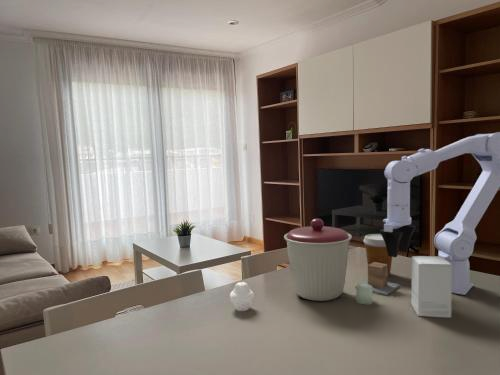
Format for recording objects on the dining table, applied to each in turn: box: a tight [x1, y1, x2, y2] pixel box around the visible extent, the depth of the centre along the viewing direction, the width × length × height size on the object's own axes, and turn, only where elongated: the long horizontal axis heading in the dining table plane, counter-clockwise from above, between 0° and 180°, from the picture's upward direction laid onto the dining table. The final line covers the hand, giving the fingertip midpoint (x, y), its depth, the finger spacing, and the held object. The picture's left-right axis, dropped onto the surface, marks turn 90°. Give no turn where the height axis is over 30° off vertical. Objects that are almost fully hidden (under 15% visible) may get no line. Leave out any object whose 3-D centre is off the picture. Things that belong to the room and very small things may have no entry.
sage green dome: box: [355, 283, 373, 305], centre depth 98 cm, size 4×4×4 cm
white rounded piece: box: [229, 281, 255, 312], centre depth 95 cm, size 6×6×7 cm
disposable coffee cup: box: [362, 233, 393, 278], centre depth 118 cm, size 10×10×12 cm
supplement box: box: [410, 255, 452, 319], centre depth 90 cm, size 7×7×13 cm
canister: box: [283, 218, 353, 302], centre depth 103 cm, size 18×18×21 cm
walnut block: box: [367, 262, 388, 289], centre depth 107 cm, size 4×4×6 cm
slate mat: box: [360, 278, 401, 297], centre depth 107 cm, size 9×9×1 cm
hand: (398, 253), depth 104 cm, fingers open, 7 cm apart
